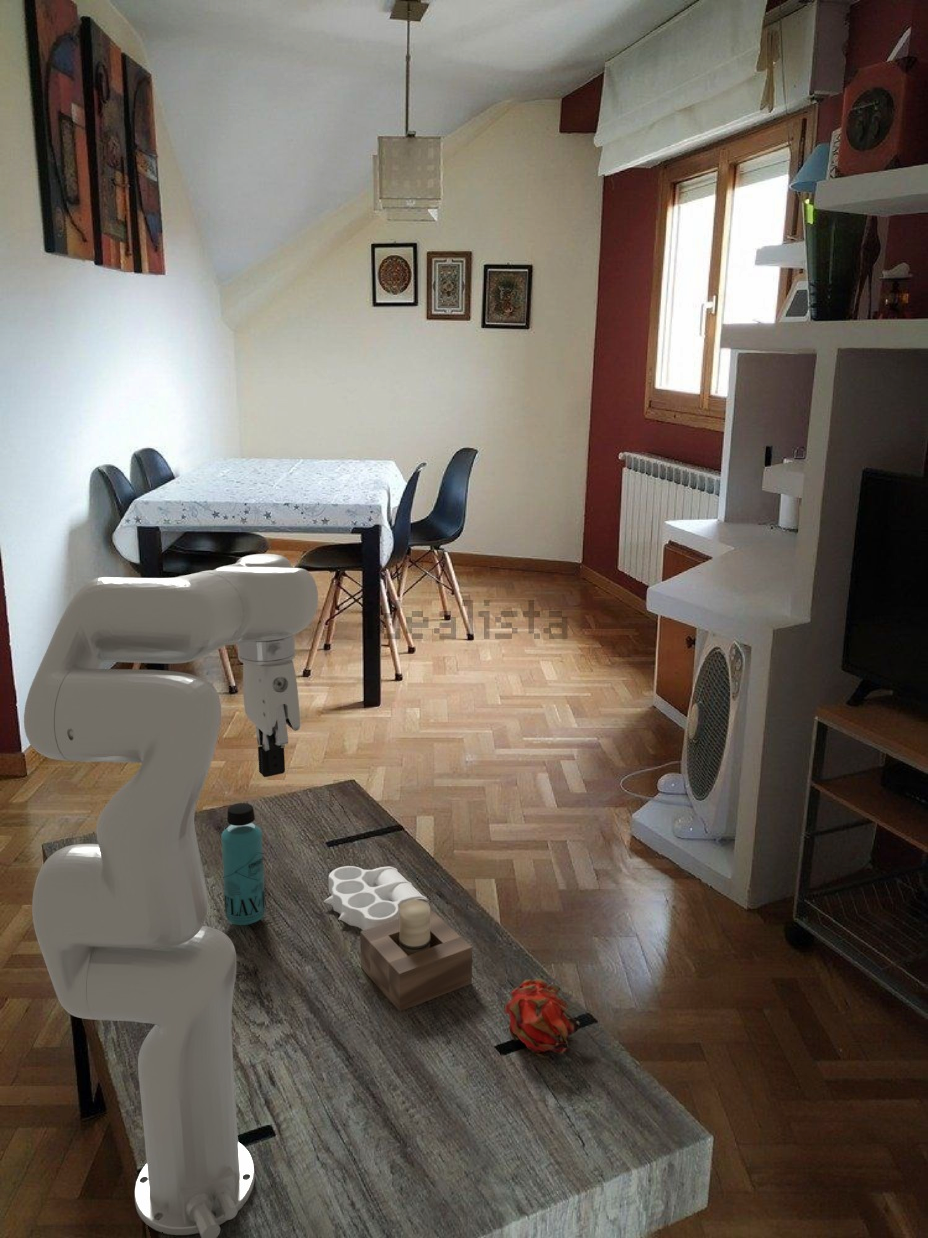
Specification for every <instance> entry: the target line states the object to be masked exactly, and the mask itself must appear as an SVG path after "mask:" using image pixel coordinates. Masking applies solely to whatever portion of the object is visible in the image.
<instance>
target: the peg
mask: <svg viewBox="0 0 928 1238" xmlns="http://www.w3.org/2000/svg"><path fill="white" fill-rule="evenodd" d="M430 909H431V906H430V904H429V902H428V903H426V902H424V901H421V900H409V901H406V902H404V903H403V904H401V906H400V908H399V932H400V935H399V943H400V948H401V949H402V950H403V951H404V952H405V953H406V954H407V955H408V956H409V955H411V954H414V953H417V952H420V951H423V950H425V949H428V948H430V942H431V936H430Z"/></svg>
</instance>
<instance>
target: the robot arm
mask: <svg viewBox="0 0 928 1238" xmlns="http://www.w3.org/2000/svg"><path fill="white" fill-rule="evenodd" d="M318 591H319V590H318V587H317V584H316V581H315V579H314V577H313V575H312V574H311V573H310V572H309V571H308V570H307V569H305V568H302V567H301V568H300V567H292V563H291V562H290V560H289V559H288V558H287V557H285V556H283V555H280V554H273V553H256V554H249V555H245V556H242V557H240V558H239V559H237V561H236V562H235V563H233V564H228V565H223V566H219V567H217V568H215V569H213V570H211V569H209V570H203V571H199V572H195V573H191V574H186V575H179V576H175V577H115V576H114V577H113V576H112V577H111V576H103V577H101V576H100V577H95V578H92V579H91V580H89V581H88V582H86V583H85V584H84V585H82V587H80V588H79V589H78V591H77V592H76V593H75V595H74V596H73V597H72V599H70V602H69V603H68V605H67V606H66V608H65V610H64V611H63V614H62V615H61V618H60V619H59V622H58V624H57V627H56V628H55V630H54V632H53V635H52V636H51V637H52V638H51V639H50V642H49V644H48V646H47V649H46V651H45V653H44V656H43V658H42V661H41V663H40V664H39V667H38V669H37V671H36V673H35V676H34V678H33V681H32V682H31V685H30V687H29V690H28V693H27V698H26V701H25V706H24V713H23V726H24V732H25V736H26V738H27V740H28V742H29V744H30V746H31V747H32V748H33V749H34V750H35V751H36V752H37V753H38V754H39V755H42V756H44V757H46V758H49V759H51V760H58V761H65V762H66V761H67V762H93V763H97V762H98V763H99V762H100V763H122V764H123V763H124V764H126V763H129V764H130V763H131V764H133V763H134V764H140V766H139V768H138V770H137V771H136V773H135V774H134V775H133V777H131V778H130V779H129V780H128V781H127V782H125V783H124V784H123V785H122V786H121V787H120V788H118V790H117V791H116V793H114V794H113V796H112V797H111V798H110V800H109V801H108V802H107V803H106V805H105V807H103V809H102V811H101V812H100V814H99V817H98V819H97V822H96V830H95V831H96V839H97V843H79V844H78V843H77V844H71V845H68V846H67V845H66V846H63V847H62V848H60V849H58V850H56V851H55V852H53V853H52V854H51V855H50V856H49V857H48V858H47V859H46V860H45V861H44V863H43V864H42V866H41V868H40V869H39V871H38V875H37V877H36V880H35V883H34V887H33V893H32V903H31V905H32V907H31V908H32V909H31V910H32V913H31V914H32V922H33V928H34V932H35V935H36V939H37V942H38V945H39V948H40V951H41V954H42V957H43V960H44V962H45V965H46V968H47V971H48V974H49V977H50V980H51V983H52V986H53V989H54V992H55V995H56V997H57V999H58V1001H59V1003H60V1005H61V1007H62V1008H63V1009H64V1010H65V1011H66V1012H67V1013H68V1014H69V1015H71V1016H72V1017H76V1018H80V1019H86V1020H95V1021H96V1020H97V1021H98V1020H99V1021H115V1022H116V1021H117V1022H118V1021H119V1022H136V1023H143V1024H152V1025H154V1026H153V1027H152V1028H151V1030H150V1031H149V1032H148V1033H147V1035H146V1037H145V1039H144V1040H143V1041H142V1044H141V1046H140V1049H139V1052H138V1058H137V1072H138V1073H137V1075H138V1083H139V1093H140V1104H141V1112H142V1124H143V1135H144V1146H145V1157H146V1158H145V1159H146V1164H145V1165H144V1166H143V1168H142V1169H141V1170H140V1172H139V1174H138V1176H137V1179H136V1180H135V1186H134V1204H135V1208H136V1212H137V1214H138V1216H139V1217H140V1220H142V1221H143V1223H145V1224H146V1225H147V1226H149V1228H151V1229H153V1230H154V1231H156V1232H160V1233H162V1232H163V1233H162V1234H166V1235H172V1236H173V1235H174V1236H189V1235H195V1234H199V1235H200V1238H218V1236H219V1235H220V1234H221V1227H220V1225H222V1224H224V1223H225V1222H227V1221H229V1220H233V1219H234V1218H235V1217H236V1216H237V1215H238V1212H239V1211H240V1210H241V1209H242V1208H243V1207H244V1205H245V1204H246V1202H247V1201H248V1200H249V1198H250V1196H251V1194H252V1192H253V1189H254V1186H255V1185H254V1184H255V1179H256V1178H255V1175H256V1173H255V1163H254V1161H253V1160H254V1159H253V1157H252V1155H251V1153H250V1151H248V1149H247V1148H246V1147H245V1146H244V1145H243V1144H242V1143H240V1142H239V1137H238V1136H239V1135H238V1134H239V1133H238V1121H237V1105H236V1104H237V1103H236V1102H237V1101H236V1089H235V1087H236V1086H235V1073H234V1072H235V1071H234V1070H235V1069H234V1057H233V1056H234V1055H233V1039H232V1038H233V1037H232V1036H233V1035H232V1016H233V1015H232V1013H233V1000H234V990H235V982H236V976H237V953H236V948H235V945H234V943H233V941H232V940H231V938H230V937H229V936H228V935H227V934H226V933H224V932H223V931H221V930H220V929H217V928H215V927H212V926H208V925H204V924H205V921H206V918H207V912H208V892H207V884H206V879H205V874H204V869H203V863H202V858H201V857H202V856H201V853H200V848H199V843H198V839H197V837H198V836H197V834H196V826H195V814H196V813H195V812H196V808H197V805H198V802H199V799H200V796H201V793H202V791H203V788H204V785H205V782H206V779H207V776H208V774H209V771H210V768H211V765H212V761H213V757H214V754H215V751H216V750H215V749H216V746H217V742H218V739H219V733H220V729H221V719H222V705H221V699H220V696H219V693H218V690H217V689H216V688H215V686H214V685H213V684H212V683H211V682H210V681H208V680H207V679H204V678H203V677H200V676H196V675H194V674H191V673H187V672H181V671H173V670H161V669H159V670H158V669H132V668H131V669H127V668H126V669H125V668H124V669H123V668H122V669H118V668H117V669H115V668H114V669H113V668H102V665H104V663H132V664H133V663H134V664H135V663H136V664H138V663H139V664H140V663H141V664H143V663H144V664H184V663H189V662H194V661H197V660H199V659H202V658H203V657H205V656H207V655H209V654H211V653H213V652H215V651H217V650H219V649H221V648H223V647H226V646H233V645H234V646H236V645H237V654H238V655H237V656H238V657H237V658H238V661H240V662H241V663H243V665H242V667H243V668H242V685H243V686H242V690H243V705H244V711H245V715H246V717H247V718H248V720H249V721H250V722H251V723H252V724H253V725H255V731H256V732H255V733H256V743H257V745H258V746H257V755H258V772H259V774H261V776H262V777H264V778H268V777H272V776H278V775H282V774H284V773H285V772H286V765H285V764H286V763H285V762H286V761H285V759H286V758H285V745H289V737H288V736H289V735H288V734H289V733H288V728H287V726H288V727H289V728H290V729H292V730H293V731H295V732H297V731H299V730H300V728H301V714H300V713H301V711H300V699H299V692H298V691H299V690H298V682H297V677H296V669H295V665H294V661H293V660H294V659H295V658H296V642H295V638H296V637H295V635H296V634H298V633H301V632H302V631H303V630H305V629H306V628H308V626H310V624H311V623H312V621H313V619H314V618H315V615H316V614H317V609H318V602H319V593H318Z"/></svg>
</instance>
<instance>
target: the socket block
mask: <svg viewBox="0 0 928 1238" xmlns="http://www.w3.org/2000/svg"><path fill="white" fill-rule="evenodd" d="M359 933H360V934H359V936H360V937H359V938H360V939H359V940H360V968H361V970H363V972H364V974H366V975H367V976H368V977H369V978H370V980H371V981H372V982H373V983H374V984H375V985H376V987H377V988H378V989H380V991H381V992H382V993H383V994H384V995H385V996H386V998H387V1000H389V1002H390V1003H392V1005H393V1006H394V1007H395V1008H396V1009H397V1010H398V1011H399V1012H403V1011H405V1010H407V1009H411V1008H412V1007H416V1006H418V1005H420V1004H424V1003H425V1002H429V1001H431V1000H433V999H436V998H438V997H441V996H444V995H446V994H449V993H451V992H454V991H456V990H459V989H461V988H464V987H466V986H469V985H472V983H473V982H472V981H473V973H472V972H473V947H472V945H471V944H470V943H468V942H467V941H466V940H465V939H464V938H463V937H462V936H461V935H459V934H458V933H457V932H456V930H454V929H453V928H452V927H451V926H450V924H448V923H446V922H445V920H443V919H442V917H441V916H439V915H438V914H437V913H436V912H434V911H433V910H432V909H431V908H430V936H431V942H430V948H428V949H425V950H423V951H420V952H417V953H414V954H411V955H409V956H408V955H407V954H406V953H405V952H404V951H403V950H402V949H401V948H400V943H399V935H400V932H399V919H397V920H394V921H391V922H388V923H385V924H382V925H379V926H376V927H373V928H370V929H367V930H364V931H363V930H361V931H359Z"/></svg>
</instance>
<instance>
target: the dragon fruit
mask: <svg viewBox="0 0 928 1238" xmlns="http://www.w3.org/2000/svg"><path fill="white" fill-rule="evenodd" d="M560 990H561V987H559V985H557V984H551V985H550V986H548V983H547V982H546V980H544V979H542V978H539V977H537V978H535V979H533V980H532V979H530V978H526V979H525V980H523V982H522V983H521V984H519V986H517V987H515V988H514V989H513V990H512V991H511V992H510V995H511V996H512V999H511V1000H510V1001H509V1000H508V1001H507V1002H506V1004H504V1006H503V1012H504V1013H506V1014H508V1015H509V1020H510V1021H509V1027H508V1028H509V1033H510V1036H511V1038H512V1039H513V1040H514V1041H518V1040H520V1041H521V1042H522V1043H523V1044H524V1045H525V1047H527V1049H528V1050H530V1051H531V1052H532V1054H533V1055H536V1056H538V1057H540V1058H543V1059H550V1057H549V1056H548V1055H547V1053H546V1052H547V1051H552V1052H555V1053H558V1054H559V1055H562V1054H563V1053H564V1052H565V1051H566V1049H567V1050H569V1044H568V1043H569V1042H571V1040H570V1036H572V1034H575V1033H577V1031H578V1030H579V1027H580V1024H581V1023H580V1022H579V1021H578V1020H576V1019H575V1018H574V1016H572V1015H570V1010H569V1009H568V1008H569V1007H570V1005H569V1004H568V1003H567V1001H566V1000H564V999H562V998H559V997H558V995H559V992H560ZM573 1041H576V1040H573Z"/></svg>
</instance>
